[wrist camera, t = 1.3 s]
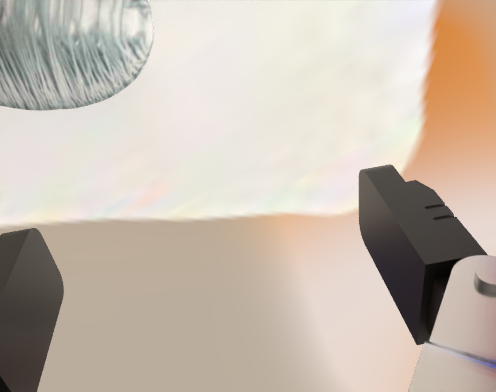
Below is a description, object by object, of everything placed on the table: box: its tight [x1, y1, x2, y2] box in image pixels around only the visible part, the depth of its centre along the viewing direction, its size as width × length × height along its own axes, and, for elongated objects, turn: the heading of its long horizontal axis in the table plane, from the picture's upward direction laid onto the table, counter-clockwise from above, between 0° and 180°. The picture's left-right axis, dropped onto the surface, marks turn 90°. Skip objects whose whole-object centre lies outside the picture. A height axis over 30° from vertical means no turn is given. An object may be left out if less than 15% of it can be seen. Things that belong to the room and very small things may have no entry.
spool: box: [0, 0, 154, 110], centre depth 25 cm, size 14×10×10 cm
